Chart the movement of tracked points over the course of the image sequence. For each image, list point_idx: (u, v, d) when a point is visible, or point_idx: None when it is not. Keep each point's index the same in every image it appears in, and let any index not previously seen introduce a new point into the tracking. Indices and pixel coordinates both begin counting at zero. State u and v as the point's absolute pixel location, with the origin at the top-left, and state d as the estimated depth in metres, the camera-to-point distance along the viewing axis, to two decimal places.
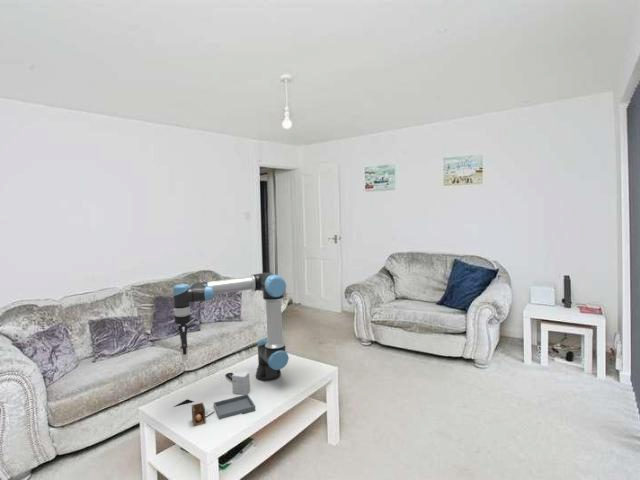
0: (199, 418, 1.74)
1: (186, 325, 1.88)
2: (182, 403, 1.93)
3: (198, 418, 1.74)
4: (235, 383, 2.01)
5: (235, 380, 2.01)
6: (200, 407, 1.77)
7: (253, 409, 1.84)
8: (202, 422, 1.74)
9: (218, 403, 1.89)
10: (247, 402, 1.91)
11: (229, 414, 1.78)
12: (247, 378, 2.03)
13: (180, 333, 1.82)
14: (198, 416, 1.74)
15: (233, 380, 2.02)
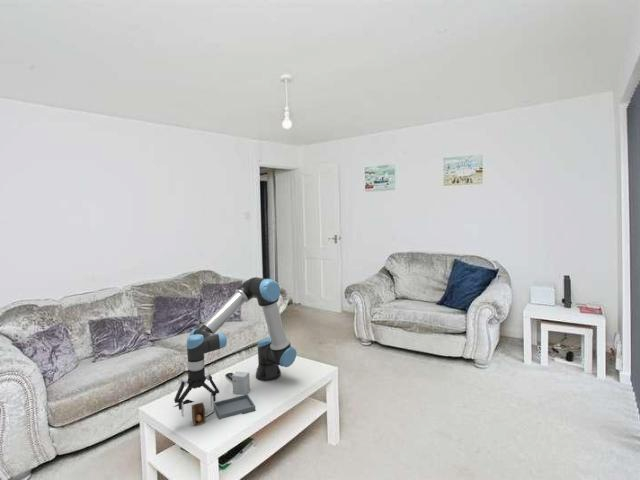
0: (199, 419, 1.74)
1: (199, 381, 1.72)
2: None
3: (198, 419, 1.73)
4: (235, 383, 2.01)
5: (235, 380, 2.01)
6: (200, 407, 1.77)
7: (253, 409, 1.84)
8: (202, 422, 1.74)
9: (218, 403, 1.89)
10: (247, 402, 1.91)
11: (229, 414, 1.78)
12: (247, 378, 2.03)
13: (188, 385, 1.73)
14: (198, 417, 1.74)
15: (233, 380, 2.02)
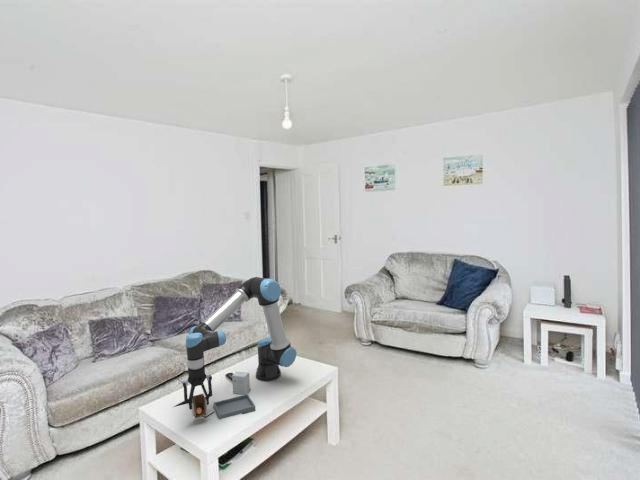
0: None
1: (200, 379, 1.72)
2: (182, 403, 1.93)
3: (199, 413, 1.73)
4: (236, 383, 2.01)
5: (235, 380, 2.01)
6: (200, 398, 1.77)
7: (253, 409, 1.84)
8: (203, 413, 1.74)
9: (218, 403, 1.89)
10: (247, 402, 1.91)
11: (229, 414, 1.78)
12: (247, 378, 2.03)
13: (191, 385, 1.74)
14: (199, 412, 1.72)
15: (233, 380, 2.02)
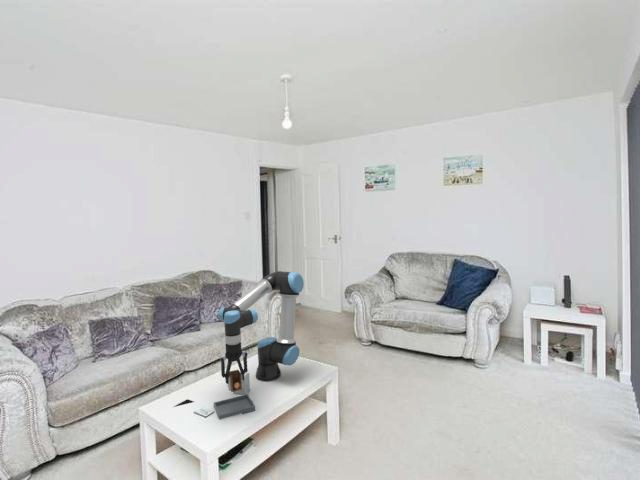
0: None
1: (236, 354, 1.80)
2: (182, 403, 1.93)
3: None
4: None
5: None
6: (236, 374, 1.85)
7: (253, 409, 1.84)
8: (238, 388, 1.81)
9: (218, 403, 1.89)
10: (247, 402, 1.91)
11: (229, 414, 1.78)
12: (247, 378, 2.03)
13: (228, 360, 1.81)
14: (236, 387, 1.80)
15: None
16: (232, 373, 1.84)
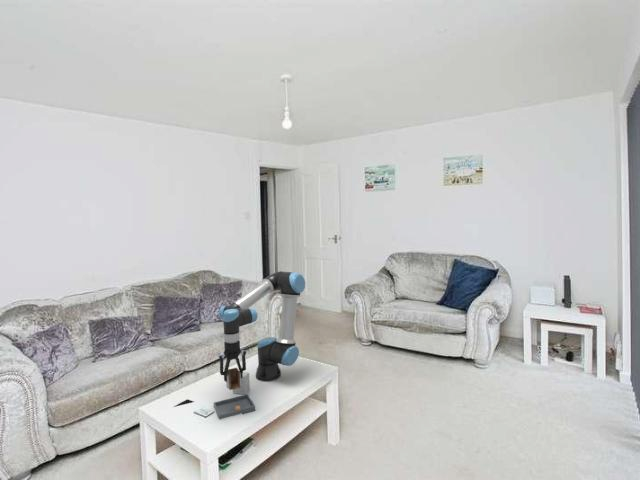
0: (238, 409, 1.81)
1: (235, 352, 1.81)
2: (182, 403, 1.93)
3: (237, 409, 1.81)
4: None
5: None
6: (234, 372, 1.86)
7: (253, 409, 1.84)
8: (237, 386, 1.83)
9: (218, 403, 1.89)
10: (247, 402, 1.91)
11: (229, 414, 1.78)
12: (247, 378, 2.03)
13: None
14: (238, 407, 1.82)
15: None
16: (231, 371, 1.85)
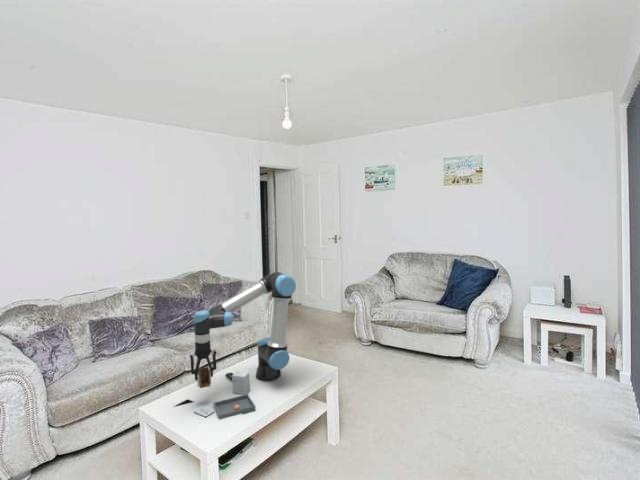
0: (237, 407, 1.82)
1: (205, 352, 1.89)
2: (182, 403, 1.93)
3: (236, 407, 1.82)
4: (236, 383, 2.01)
5: (235, 380, 2.01)
6: (205, 371, 1.94)
7: (253, 409, 1.84)
8: (207, 384, 1.91)
9: (218, 403, 1.89)
10: (247, 402, 1.91)
11: (229, 414, 1.78)
12: (247, 378, 2.03)
13: (197, 358, 1.91)
14: (236, 405, 1.83)
15: (233, 380, 2.02)
16: (202, 370, 1.93)
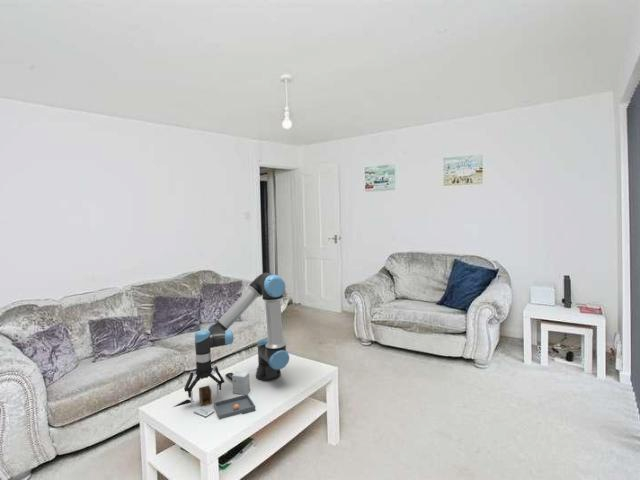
0: (236, 405, 1.83)
1: (206, 372, 1.90)
2: (182, 403, 1.92)
3: (235, 405, 1.83)
4: (236, 383, 2.01)
5: (235, 380, 2.01)
6: (206, 390, 1.95)
7: (253, 409, 1.84)
8: (208, 403, 1.91)
9: (218, 403, 1.89)
10: (247, 402, 1.91)
11: (229, 414, 1.78)
12: (247, 378, 2.03)
13: (196, 376, 1.91)
14: (235, 404, 1.84)
15: (233, 380, 2.02)
16: (203, 389, 1.94)
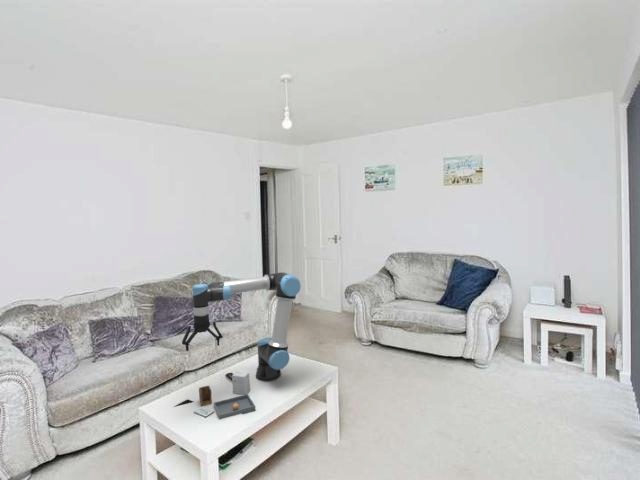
0: None
1: (204, 326, 1.88)
2: (182, 403, 1.92)
3: (233, 404, 1.85)
4: (236, 383, 2.01)
5: (235, 380, 2.01)
6: (206, 390, 1.95)
7: (253, 409, 1.84)
8: (208, 403, 1.91)
9: (218, 403, 1.89)
10: (247, 402, 1.91)
11: (229, 414, 1.78)
12: (247, 378, 2.03)
13: (194, 330, 1.89)
14: None
15: (233, 380, 2.02)
16: (203, 389, 1.94)
